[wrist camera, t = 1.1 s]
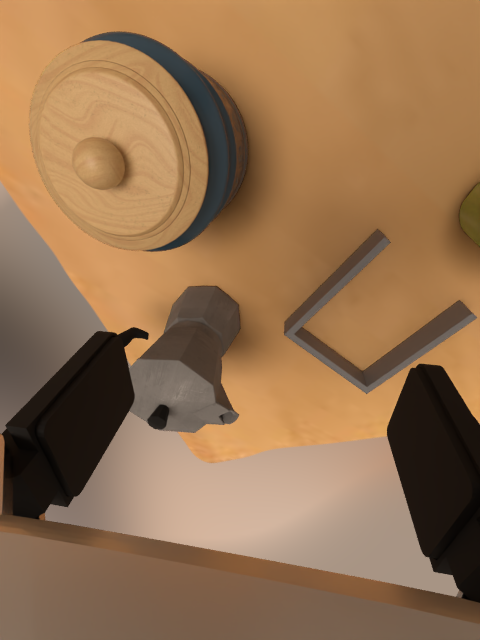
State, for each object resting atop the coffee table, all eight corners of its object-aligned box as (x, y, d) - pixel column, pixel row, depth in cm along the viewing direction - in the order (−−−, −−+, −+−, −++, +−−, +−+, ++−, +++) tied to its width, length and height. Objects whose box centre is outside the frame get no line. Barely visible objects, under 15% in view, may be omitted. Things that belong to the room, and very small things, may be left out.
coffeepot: (267, 303, 38) (250, 414, 23) (243, 358, 43) (216, 480, 28) (148, 260, 38) (50, 345, 22) (138, 321, 43) (52, 425, 27)
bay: (377, 229, 32) (384, 237, 30) (464, 304, 35) (477, 317, 32) (284, 321, 39) (284, 334, 37) (362, 378, 42) (366, 393, 40)
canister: (278, 137, 29) (262, 140, 14) (203, 241, 36) (137, 319, 21) (162, 29, 27) (-7, -106, 12) (103, 163, 33) (-57, 187, 18)
